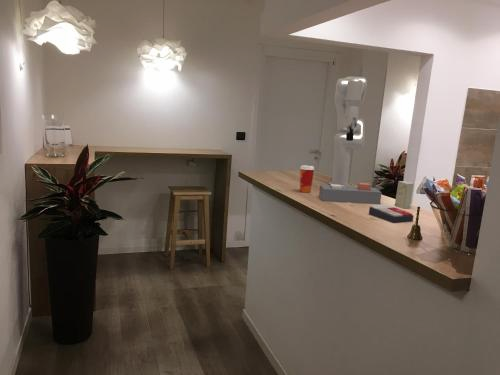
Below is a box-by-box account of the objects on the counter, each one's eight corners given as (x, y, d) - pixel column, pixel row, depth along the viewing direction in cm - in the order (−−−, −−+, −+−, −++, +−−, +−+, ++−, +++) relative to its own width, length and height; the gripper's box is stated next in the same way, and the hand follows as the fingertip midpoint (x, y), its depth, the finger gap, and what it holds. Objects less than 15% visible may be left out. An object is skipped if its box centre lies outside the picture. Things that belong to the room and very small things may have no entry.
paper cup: (301, 190, 229) (303, 164, 226) (314, 192, 225) (316, 166, 222) (295, 192, 222) (297, 166, 220) (308, 194, 218) (311, 167, 216)
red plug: (356, 196, 211) (358, 182, 210) (366, 196, 211) (368, 183, 210) (359, 198, 206) (360, 184, 205) (369, 198, 207) (370, 184, 205)
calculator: (394, 215, 168) (369, 205, 181) (393, 225, 169) (368, 214, 182) (414, 213, 173) (388, 203, 186) (412, 223, 174) (387, 213, 187)
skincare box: (394, 205, 203) (397, 181, 200) (401, 205, 204) (404, 180, 202) (403, 208, 197) (406, 183, 195) (410, 208, 199) (414, 183, 196)
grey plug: (329, 197, 211) (330, 184, 210) (338, 198, 212) (340, 184, 210) (330, 199, 207) (332, 185, 205) (340, 200, 207) (342, 186, 205)
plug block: (319, 196, 215) (320, 184, 214) (372, 199, 215) (374, 187, 214) (323, 201, 203) (324, 189, 202) (380, 204, 203) (381, 192, 202)
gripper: (342, 104, 219) (339, 139, 222) (349, 103, 204) (345, 141, 207) (356, 105, 219) (353, 139, 222) (364, 104, 204) (360, 142, 207)
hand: (349, 140), depth 215 cm, fingers closed
